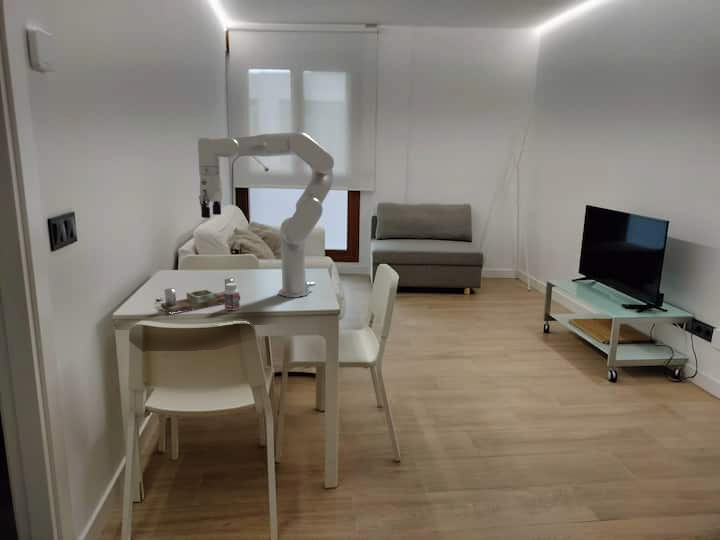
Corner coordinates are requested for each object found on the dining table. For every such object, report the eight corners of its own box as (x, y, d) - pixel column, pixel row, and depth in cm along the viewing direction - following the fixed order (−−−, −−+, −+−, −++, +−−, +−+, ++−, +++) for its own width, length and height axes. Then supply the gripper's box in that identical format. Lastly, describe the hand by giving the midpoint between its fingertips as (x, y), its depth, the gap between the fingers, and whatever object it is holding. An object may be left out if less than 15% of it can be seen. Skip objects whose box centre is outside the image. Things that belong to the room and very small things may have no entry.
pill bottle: (236, 311, 197) (234, 286, 195) (222, 311, 198) (221, 285, 196) (241, 307, 202) (240, 282, 200) (228, 306, 203) (227, 281, 201)
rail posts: (231, 292, 215) (231, 277, 214) (236, 294, 213) (235, 279, 211) (164, 305, 198) (163, 289, 196) (168, 307, 195) (167, 291, 194)
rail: (229, 295, 218) (228, 284, 217) (240, 300, 211) (239, 289, 210) (161, 308, 200) (160, 297, 199) (171, 314, 193) (170, 302, 192)
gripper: (208, 172, 193) (210, 219, 197) (228, 170, 210) (229, 213, 214) (189, 172, 195) (192, 218, 199) (210, 170, 211) (212, 213, 215)
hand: (211, 216), depth 206 cm, fingers open, 9 cm apart
